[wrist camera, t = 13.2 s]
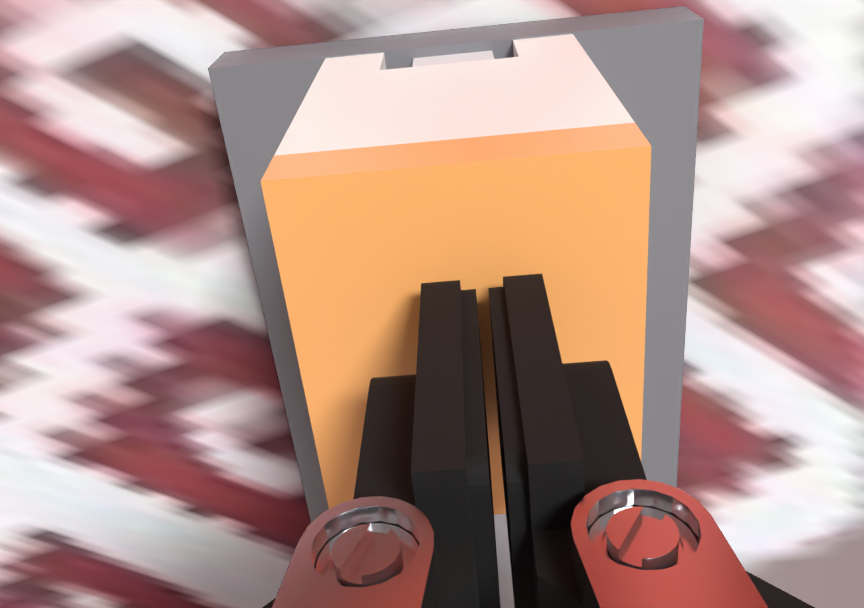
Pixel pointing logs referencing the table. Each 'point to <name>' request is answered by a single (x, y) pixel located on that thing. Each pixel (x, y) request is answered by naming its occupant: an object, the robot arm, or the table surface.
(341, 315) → the block
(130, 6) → the table surface
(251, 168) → the rail board
